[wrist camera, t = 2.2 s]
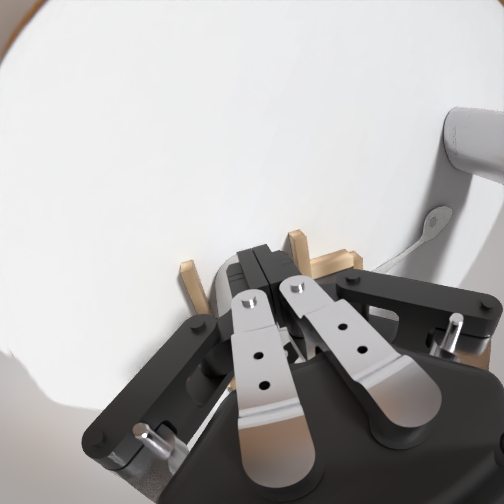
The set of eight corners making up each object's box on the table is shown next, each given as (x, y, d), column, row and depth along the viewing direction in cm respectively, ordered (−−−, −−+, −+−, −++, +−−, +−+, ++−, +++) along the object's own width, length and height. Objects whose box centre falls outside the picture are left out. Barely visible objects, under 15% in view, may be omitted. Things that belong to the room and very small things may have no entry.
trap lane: (351, 215, 28) (365, 224, 25) (353, 355, 38) (362, 368, 35) (127, 278, 26) (120, 294, 24) (199, 402, 36) (200, 418, 34)
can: (272, 310, 31) (306, 390, 21) (208, 304, 29) (218, 391, 19) (292, 252, 29) (343, 321, 18) (222, 241, 27) (239, 315, 16)
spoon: (448, 218, 32) (455, 222, 30) (345, 309, 34) (350, 316, 33) (442, 195, 30) (450, 198, 29) (332, 290, 32) (338, 297, 31)
